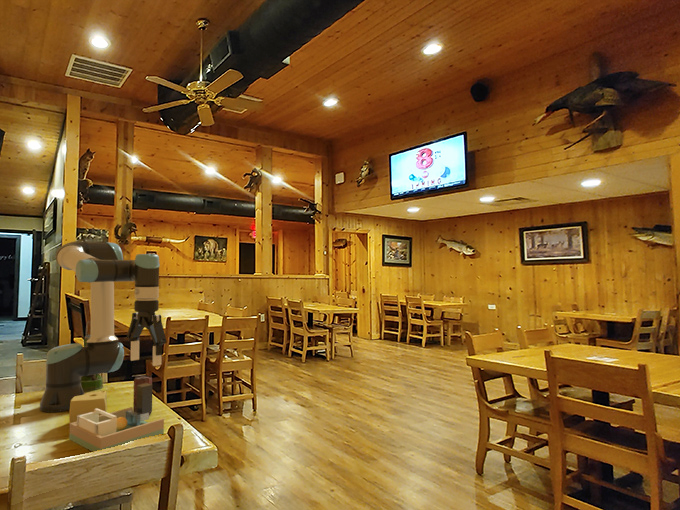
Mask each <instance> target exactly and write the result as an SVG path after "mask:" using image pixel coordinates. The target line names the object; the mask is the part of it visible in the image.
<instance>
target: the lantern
mask: <svg viewBox="0 0 680 510" xmlns="http://www.w3.org/2000/svg"><path fill="white" fill-rule="evenodd" d="M89 323H90V324H91V320H88V321H87V322H86V325H85V336H84V341H83V345H82V347H85V346H87V340H88V339H89V338H90V337H91V329H89V334H88V324H89ZM87 334H88V335H87ZM81 386H82V388H83V391H84V393H88V392H96V391H99V390H102V389H103V388H104V379H103V376H101V374H95V375H89V376H82V377H81Z"/></svg>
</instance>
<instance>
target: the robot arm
mask: <svg viewBox="0 0 680 510" xmlns="http://www.w3.org/2000/svg"><path fill="white" fill-rule="evenodd" d="M123 255H124V254H123V252H122V248H121V247H120V245H119V244H117V243H115V242H110V241H83V240H76V241H69V242H67V243H65V244H63V245H61V246H60V247H59V248H58V249H57V251H56V252H55V260H56V261H55V262H56V263H57V264H58V266H59V267H60V268H63V269H65V270H67V271H73V272H74V273H75V276H76V280H77V281H78V282H80V283H90V321H91V323H90V330H91V333H90V334H91V337H90V338H89V339H88V340H87V346H85V347H84V346H83V345H82V343H79V342H78V343H77V342H76V343H69V344H63V345H58V346H55V347H53V348H51V349H49V350H48V352H47V353H46V361H45V365H46V366H45V368H46V370H45V373H46V374H45V388H44V392H43V394H42V397H41V400H40V403H39V411H41V412H44V413H62V412H66V411H67V412H68V411H70V402H71V399H72V398H73V397H75V396H80V395H83V394H85V392H84V391H83V388H82V386H81V377H82V376H89V375H95V374H99V375H101V374H108V373H111V372H112V373H113V372H115V371H118V370H119V369H120V368H121V366H122V364H123V361H124V356H125V349H124V345H123V343H122V342H119V338H118V337H117V336H116V335H115V282H116V283H117V282H123V283H124V282H134V291H133V292H134V299H136V300H134V306H133V307H134V308H133V310H134V312H132V314H131V315H132V316H131V320H130V324H129V328H128V331H127V334H126V338H127V340H129V341H130V361H131V362H132V361H139V360H140V340H141V339H140V336H141V334H142V333H143V330H144V328H145V329H146V330H148V332H149V334H150V337H151V339H152V341H153V344H152V366H153V367H157V366H161V365H162V362H163V361H162V355H163V345H164V344H167V342H168V341H167V337H166V334H165V329H164V325H163V321H162V315H161V314H156V312H158V311H159V307H160V306H159V302H160V301H159V298H160V266H161V265H160V256H159V255H158V254H155V253H154V254H153V253H152V254H151V253H137V254H136V255H135V259H124V257H123Z"/></svg>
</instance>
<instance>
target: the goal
mask: <svg viewBox="0 0 680 510" xmlns="http://www.w3.org/2000/svg"><path fill="white" fill-rule="evenodd" d="M110 413H111V412H107V411H106V412H105V411H103V410H100V409H98V408H96V409H95V411H94V412H90V413H86V414H82V415H78V416H77V426H79V427H81V428H83V429H85V430H87V431H89V432H92V433H94V434H96V435H97V434H99V435H101V436H106V435H109V434H112V433H116V429H117V416H115V415H113V414H110ZM99 414H102V415H104V416H107V417H109V418H112V419H109V420H106V421H102V422H99Z"/></svg>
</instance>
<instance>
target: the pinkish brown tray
mask: <svg viewBox="0 0 680 510" xmlns="http://www.w3.org/2000/svg"><path fill="white" fill-rule="evenodd" d="M128 410H130V411H133V407H127V408H123V409H120V410H115V411H112V412H109V413H110V414H113V415H115V416H117V418H119V417H124V418H126V411H128ZM109 419H112V418H109V417H107V416H104V415H100V416H99V422H102V421H106V420H109ZM164 429H165V419H164V418H159V419H156V420H152V421H149V422H148V421H147V420H144V421H141V422H140V425H139V426H136V427H134V426H131V425H129V424H127V426H126V427H125V428H124V429H123V430H117V429H116V433H112V434H109V435H106V436H101V435H99V434H97V435H96V434H94V433H92V432H89V431H87V430H85V429H83V428H81V427H79V426H77V422H73V423H70V422H69V438H68V439H69V440H70V441H71V442H73V443H75V444H78V445H79V446H81V447H83V448H85V449H87V450H88V449H89V451H90V452H92V451H97V450H102V449H106V448H111V447H115V446H118V445H122V444H125V443H128V442H130V441H134V440H137V439H141V438H145V437H149V436H155V435H159V434H164V431H165V430H164Z"/></svg>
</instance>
